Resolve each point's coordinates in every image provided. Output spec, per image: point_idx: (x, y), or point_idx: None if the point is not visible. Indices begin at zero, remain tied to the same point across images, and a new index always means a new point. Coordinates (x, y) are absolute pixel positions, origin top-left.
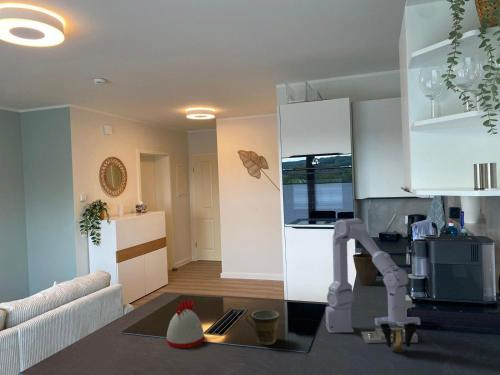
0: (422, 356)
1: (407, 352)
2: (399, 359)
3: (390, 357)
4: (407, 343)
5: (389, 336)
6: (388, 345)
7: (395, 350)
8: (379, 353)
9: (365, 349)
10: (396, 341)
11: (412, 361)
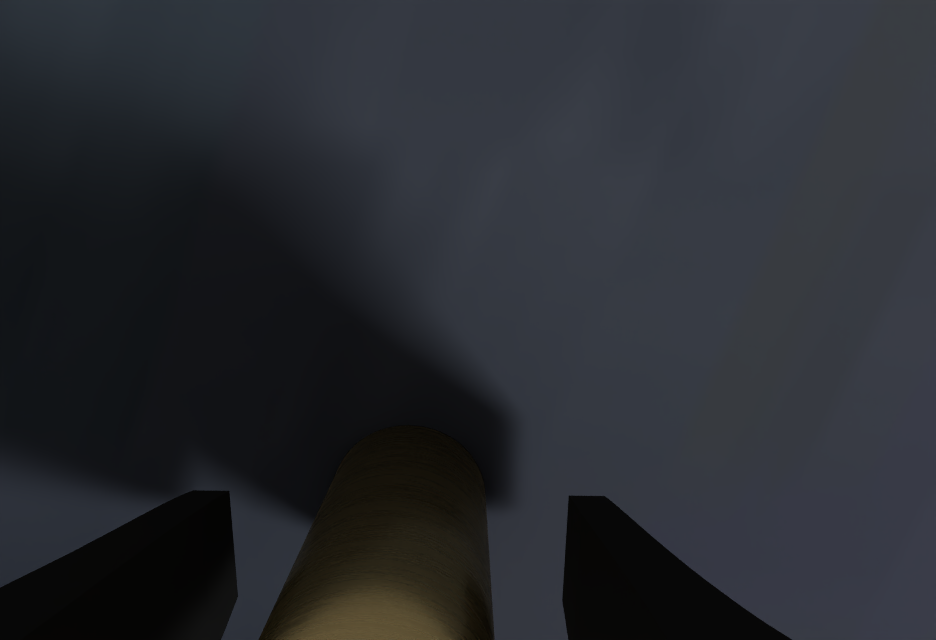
0: (64, 255)
1: (279, 421)
2: (517, 156)
3: (646, 245)
4: (199, 536)
5: (703, 634)
6: (622, 515)
7: (471, 469)
8: (769, 408)
9: (932, 561)
10: (451, 557)
11: (309, 58)
